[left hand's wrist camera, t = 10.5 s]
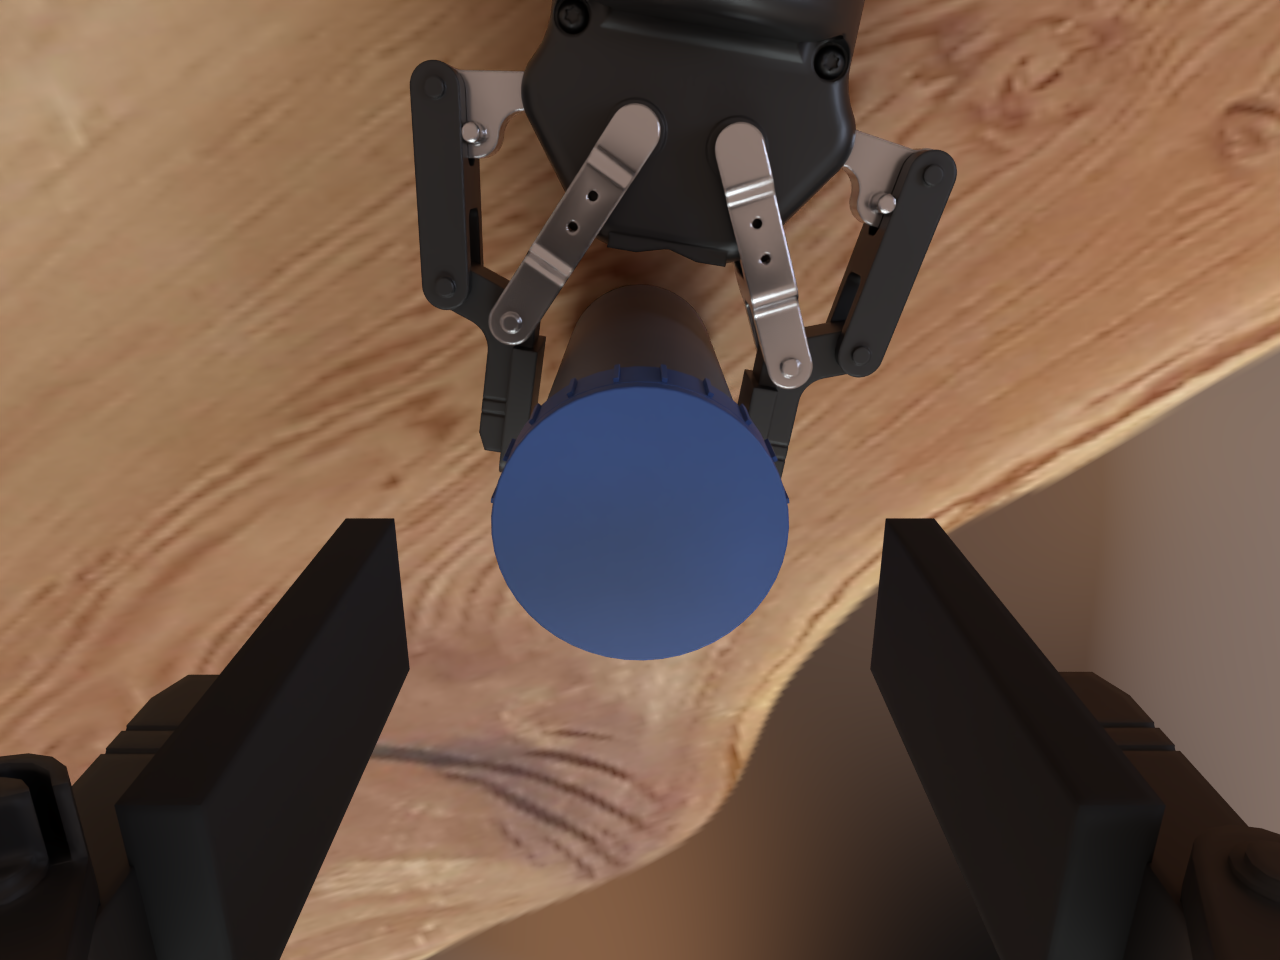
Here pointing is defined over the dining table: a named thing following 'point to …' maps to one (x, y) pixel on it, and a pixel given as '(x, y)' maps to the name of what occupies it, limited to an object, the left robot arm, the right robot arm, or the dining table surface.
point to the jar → (640, 337)
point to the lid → (640, 514)
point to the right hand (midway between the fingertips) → (627, 481)
